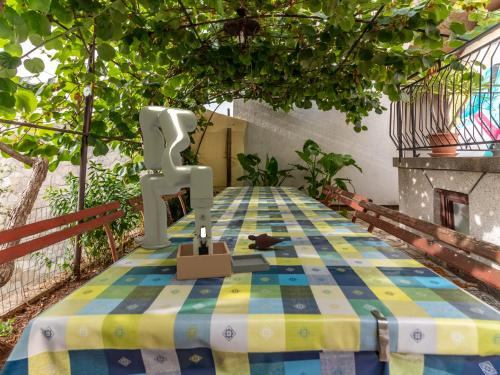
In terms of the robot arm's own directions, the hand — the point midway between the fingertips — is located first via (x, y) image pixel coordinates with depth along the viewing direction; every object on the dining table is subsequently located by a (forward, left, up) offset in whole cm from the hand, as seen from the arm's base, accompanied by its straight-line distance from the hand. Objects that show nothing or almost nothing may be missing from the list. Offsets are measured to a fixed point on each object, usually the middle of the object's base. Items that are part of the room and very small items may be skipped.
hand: (203, 254), depth 107 cm
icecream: (+26, +20, -5) cm, 33 cm away
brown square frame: (0, 0, -5) cm, 5 cm away
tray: (+15, 0, -5) cm, 16 cm away
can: (0, 0, -5) cm, 5 cm away
